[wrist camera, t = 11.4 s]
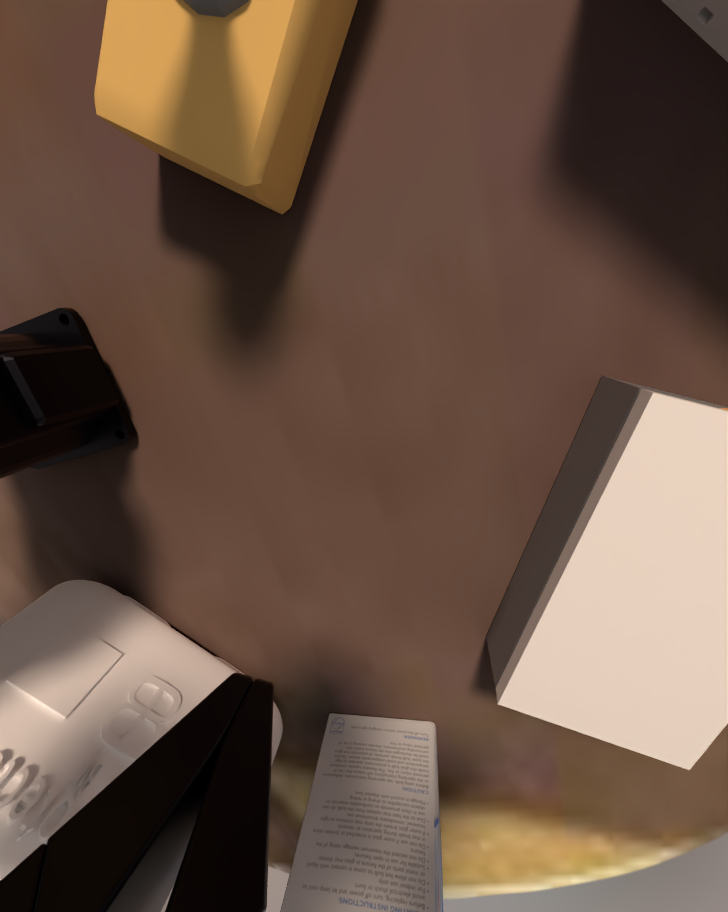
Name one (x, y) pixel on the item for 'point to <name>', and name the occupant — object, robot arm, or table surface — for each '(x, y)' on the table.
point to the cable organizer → (87, 703)
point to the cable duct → (563, 512)
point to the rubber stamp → (223, 84)
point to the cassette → (705, 20)
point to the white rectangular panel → (639, 594)
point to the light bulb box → (371, 821)
